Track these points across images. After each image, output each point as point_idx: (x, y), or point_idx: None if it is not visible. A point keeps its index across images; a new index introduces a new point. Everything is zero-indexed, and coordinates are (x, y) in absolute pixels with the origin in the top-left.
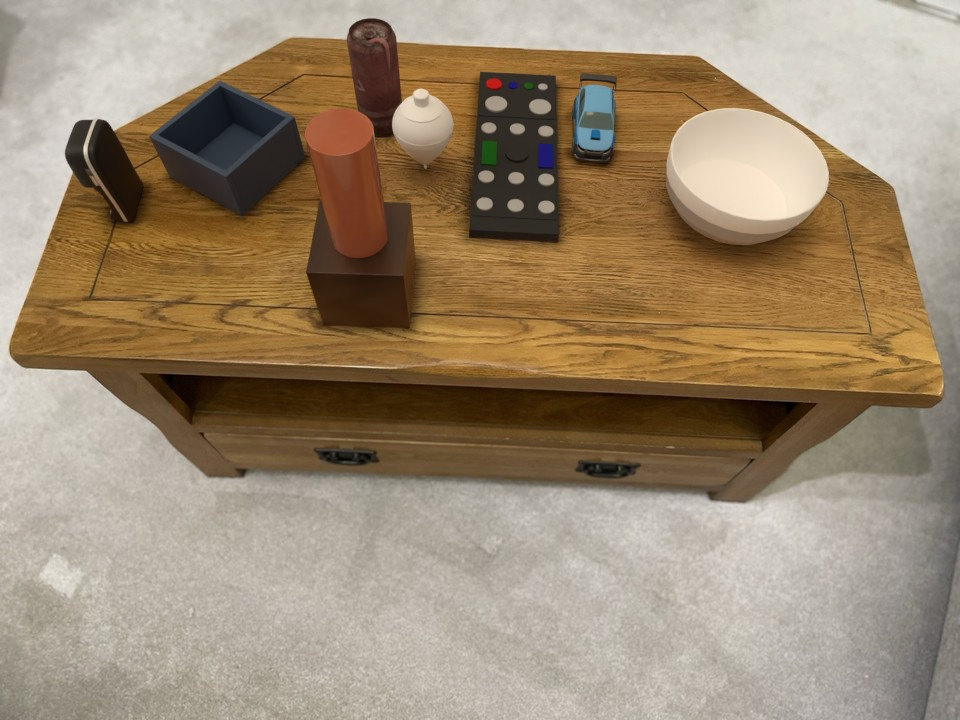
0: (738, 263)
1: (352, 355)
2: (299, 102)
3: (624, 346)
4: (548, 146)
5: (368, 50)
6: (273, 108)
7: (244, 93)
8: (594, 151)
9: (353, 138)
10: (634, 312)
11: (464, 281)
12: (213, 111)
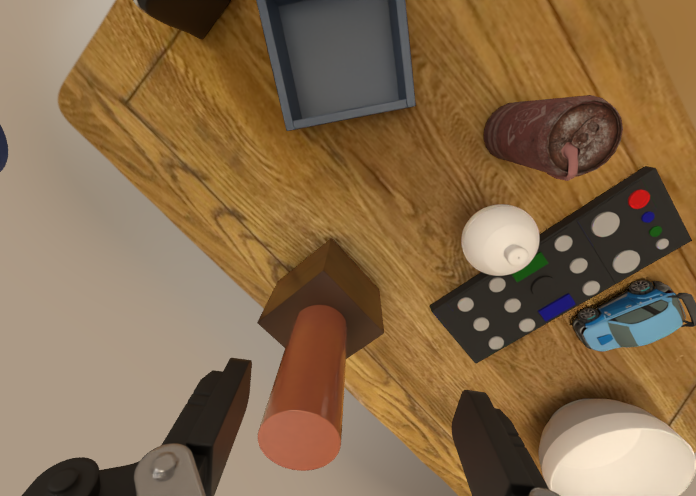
0: (535, 448)
1: None
2: (477, 11)
3: (419, 430)
4: (570, 303)
5: (546, 162)
6: (408, 68)
7: (403, 4)
8: (585, 341)
9: (303, 458)
10: (448, 422)
11: (389, 330)
12: None
